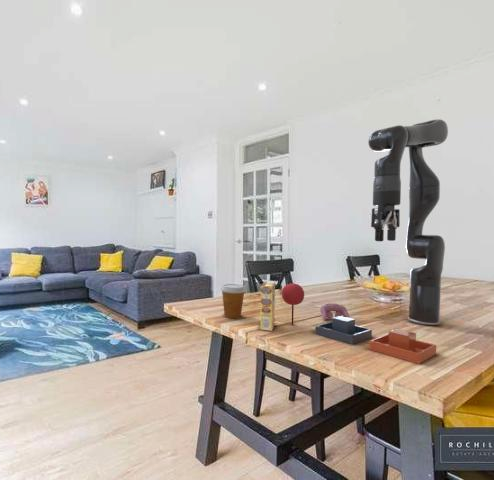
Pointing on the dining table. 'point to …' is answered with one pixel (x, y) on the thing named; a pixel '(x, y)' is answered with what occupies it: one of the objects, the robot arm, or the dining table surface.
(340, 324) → the slate block
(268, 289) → the candy box
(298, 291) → the lollipop
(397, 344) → the terracotta block
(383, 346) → the terracotta tray
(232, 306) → the disposable coffee cup
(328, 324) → the slate tray
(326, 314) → the toy elephant
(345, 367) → the dining table surface
